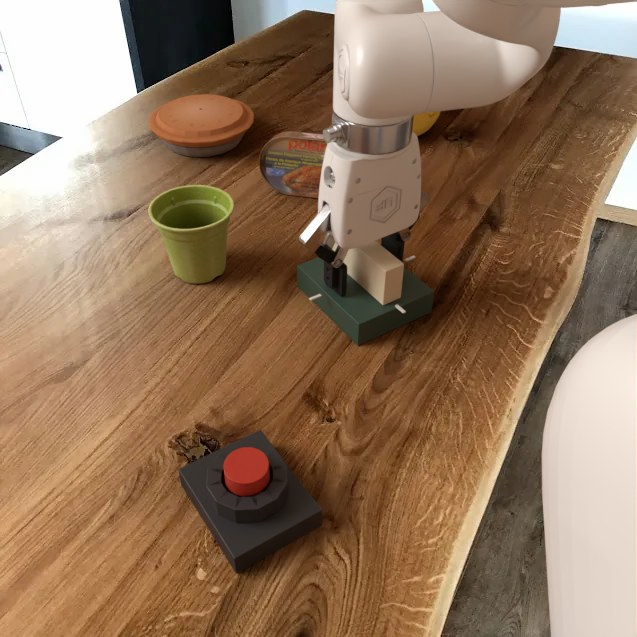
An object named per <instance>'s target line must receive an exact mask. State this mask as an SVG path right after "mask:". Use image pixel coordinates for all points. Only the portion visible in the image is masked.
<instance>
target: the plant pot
mask: <svg viewBox="0 0 637 637" xmlns="http://www.w3.org/2000/svg"><path fill="white" fill-rule="evenodd" d="M234 209H235V203H234V199H233V198H232V196H231V195H230V194H229V193H228V192H226V191H225V190H223V189H221V188H220V187H219V188H218V187H216V186H210V185H205V184H187V185H181V186H177V187H173V188H170V189H167V190H166V191H164V192H162V193H160V194H158V195H157V196H155V197H154V198H153V200H151V202H150V203H149V206H148V210H147V212H148V216H149V219H150V220H151V222H152V223H153V225H155V227H156V229H157V231H158V232H159V233H160V236H161V239H162V242H163V244H164V248H165V250H166V253H167V256H168V259H169V261H170V266H171V268H172V272H173V274H174V275H175V277H178V278H179V279H180V280H182V281H183V282H184V283H188V284H194V285H195V284H196V285H198V284H206V283H210V282H212V281H213V280H214V279H215V278H217V277H219V276H222V275H223V274H224V272H225V270H226V268H227V246H228V230H229V229H228V228H229V224H230V222H231V216H232V214H233V213H234Z"/></svg>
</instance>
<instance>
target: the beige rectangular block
mask: <svg viewBox="0 0 637 637" xmlns="http://www.w3.org/2000/svg"><path fill="white" fill-rule="evenodd" d="M337 246H338V244H336V242H335V244H334V246H333V248H332V250H334V251H335V250H336V248H337ZM343 262H344V263H345V264H346V265H347V274H348V275H349V276H351V277H352V278H353V279H354V280H355V281H356V282H357V283H358V284H360V285H361V286H362V287H363V288H364V289H365V290H366V291H367V292H369V293H370V294H371V295H372V296H373V297H374V298H375V299H376V300H378V301H379V302H380V303H381V304H382V305H385V304H388V303H390V302H392V301H394V300H397V299H399V298H401V290H402V280H403V271H404V267H405V263H402V262H401V261H400V260H399V259H397V258H396V257H395V256H394V255H392V254H391V253H390V252H389V251H387V250H386V249H385V248H384V247H382V246H381V243H379V242H377V240H375V241H372V242H370V243H367V244H364V245H362V246H359V247H356V248H353V249H349V250H348V252H347V255H346V257H345V259H344V261H343Z"/></svg>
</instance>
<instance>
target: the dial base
mask: <svg viewBox="0 0 637 637" xmlns="http://www.w3.org/2000/svg"><path fill="white" fill-rule="evenodd" d="M414 259H416V255H412V256H409V257H407V258H403V262H405V263H407V262H409V261H412V260H414ZM296 278H297V279H296V285H297V287H298V288H299V289H300V290H301V291H302V292H303V293H304V294H305V296H307V298H308V300H309V301H310V302H313V303H314V304H315V305H316V306H317V307H318V308H319V309H320V310H321V311H322V312H323V313H324V314H325V315H326V316H327V317H328V318H329V319H330V320H331V321H332V322H333V323H334V324H335V325H336V326H337V327H338V328H339V329H340V330H341V331H342V332H343V333H344V334H346V336H347V337H348V338H349V339H351V341H353V342H354V344H356V346H360V345H362V344H365V343H367V342H369V341H371V340H374V339H376V338H378V337H380V336H382V335H385V334H387V333H389V332H391V331H393V330H396V329H397V328H398V329H399V328H400V327H402V326H405V325H407V324H408V323H411V322H413V321H416V320H418V319H420V318H423V317H424V316H427V315H429V314H431V313H432V310H433V304H434V297H435V291H434V290H433V289H432V288H431V287H430V286H428V285H427V284H426V283H425V282H423V281H422V280H421V279H420V278H419V277H417V276H416V275H415V274H414V273H413V272H411V271H410V270H409V269H407V268H406V267H405V266H404V271H403V280H402V290H401V298H399V299H397V300H394V301H392V302H390V303H388V304H385V305H382V304H381V303H380V302H379V301H378V300H376V299H375V298H374V297H373V296H372V295H371V294H370V293H369V292H367V291H366V290H365V289H364V288H363V287H362V286H361V285H360V284H358V283H357V282H356V281H355V280H354V279H353V278H352V277H351V276H349V275H348V274H347V290H346V294H345V295H343V296H341V297H340V296H339V295H338V294H337V293H336V292H335V291H334V290H332V289H331V288H329V287H328V286H327V285H326V284H325V282H324V260H322V259H320V258H319V257H318V256H317V257H315V258H313V259H310V260H307V261H305V262H302V263H299V264H297V265H296Z"/></svg>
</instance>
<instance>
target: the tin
mask: <svg viewBox="0 0 637 637" xmlns="http://www.w3.org/2000/svg"><path fill="white" fill-rule="evenodd" d="M326 147H327V142H325V140H324V138H323V133H313V132H304V131H303V132H302V131H293V130H286V131H282V132H279V133H277V134H276V135H273V136H272V137H271V138H270V139H269V141H268V142H266V143H265V145H264V146H263V147H262V149H261V151H260V153H259V157H258V165H259V166H258V167H259V171H260V174H261V176H262V179H263V180H264V181H265V182H266V184H267V185H268V186H269V187H270V188H271V189H273V191H275V192H278V193H280V194H282V195H286V196H290V197H291V196H292V197H301V198H310V199H318V198H319V186H320V178H321V171H322V165H323V160H324V155H325V151H326Z"/></svg>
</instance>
